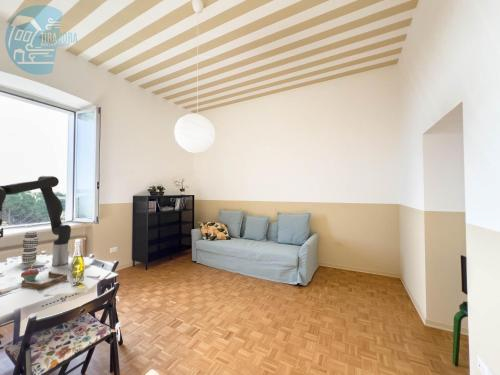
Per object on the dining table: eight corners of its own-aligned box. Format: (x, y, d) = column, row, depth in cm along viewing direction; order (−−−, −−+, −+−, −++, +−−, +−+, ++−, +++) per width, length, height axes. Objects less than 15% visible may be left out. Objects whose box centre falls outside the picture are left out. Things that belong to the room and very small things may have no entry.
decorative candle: (33, 258, 181) (36, 230, 182) (39, 260, 177) (41, 231, 178) (19, 261, 172) (21, 232, 173) (24, 263, 169) (26, 233, 169)
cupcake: (41, 279, 143) (42, 261, 144) (24, 284, 135) (26, 265, 136) (33, 276, 146) (35, 260, 146) (17, 281, 138) (18, 263, 138)
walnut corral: (49, 276, 148) (50, 271, 148) (67, 279, 145) (67, 273, 145) (21, 286, 132) (22, 280, 132) (40, 289, 129) (40, 283, 129)
